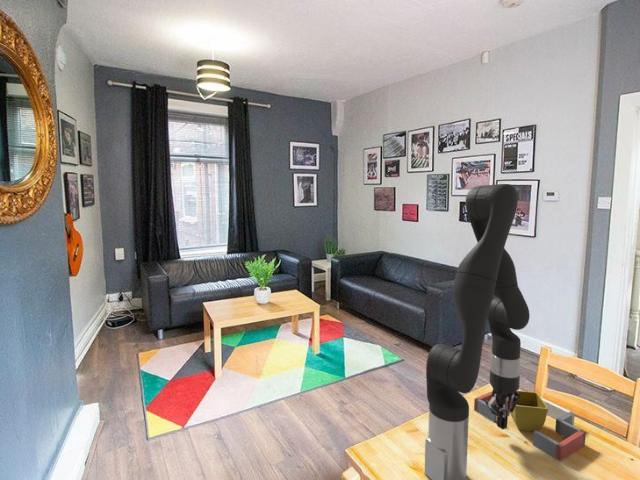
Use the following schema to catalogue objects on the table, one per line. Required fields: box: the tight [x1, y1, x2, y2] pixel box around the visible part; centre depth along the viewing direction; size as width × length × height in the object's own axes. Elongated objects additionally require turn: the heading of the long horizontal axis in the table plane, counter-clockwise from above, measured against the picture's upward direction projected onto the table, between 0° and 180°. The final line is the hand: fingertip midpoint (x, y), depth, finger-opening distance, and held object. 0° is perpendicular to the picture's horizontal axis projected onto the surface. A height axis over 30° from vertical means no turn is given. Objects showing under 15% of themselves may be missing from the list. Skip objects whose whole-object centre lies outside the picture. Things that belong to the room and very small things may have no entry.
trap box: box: [473, 390, 587, 462], centre depth 111 cm, size 26×19×4 cm
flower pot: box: [510, 390, 548, 432], centre depth 109 cm, size 9×9×9 cm
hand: (501, 427), depth 104 cm, fingers closed
